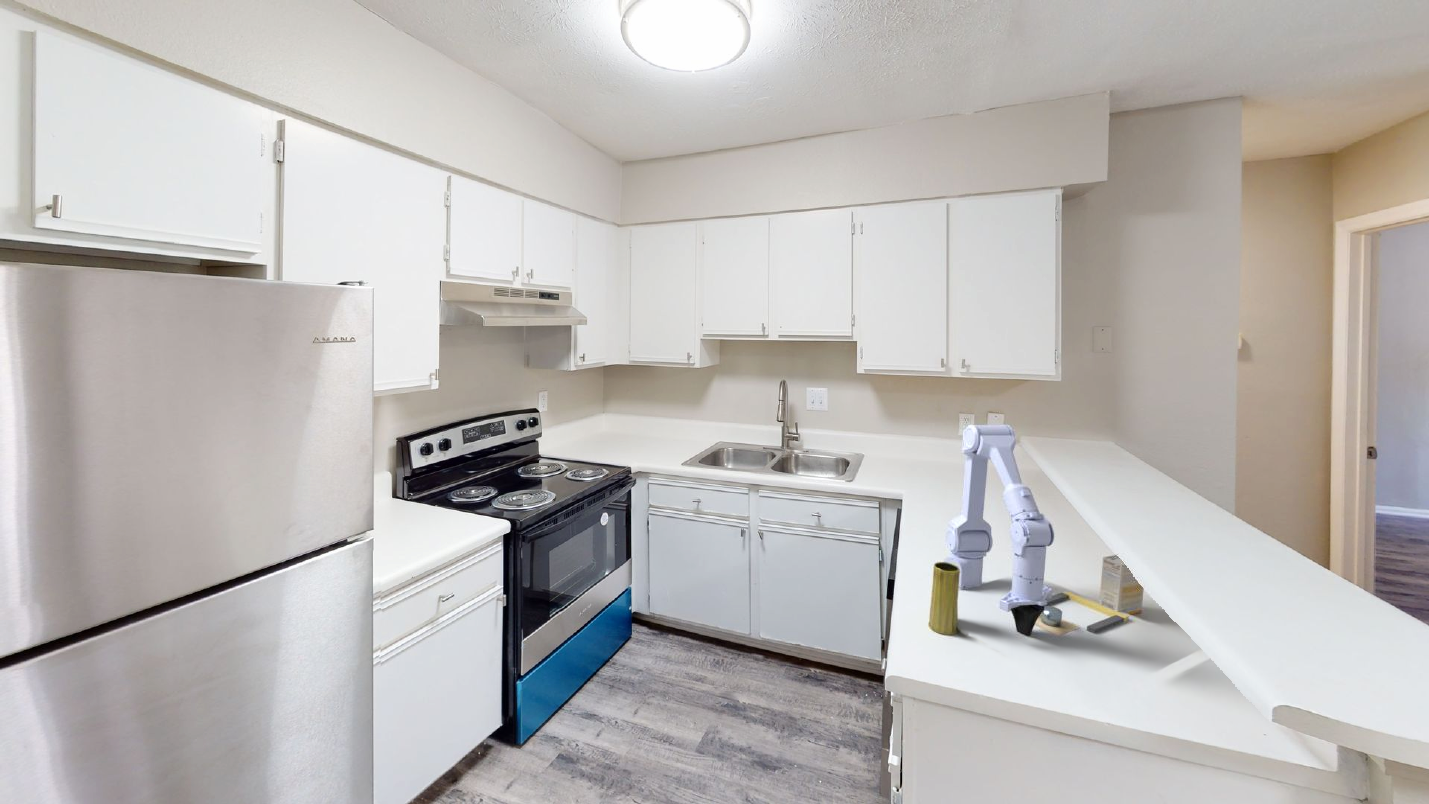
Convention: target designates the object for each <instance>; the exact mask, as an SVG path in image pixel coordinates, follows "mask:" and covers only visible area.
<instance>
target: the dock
mask: <svg viewBox="0 0 1429 804" xmlns="http://www.w3.org/2000/svg"><path fill="white" fill-rule="evenodd" d="M1045 600H1046V601H1047V604H1046V605H1044V606H1052V605H1055V604H1058V603H1060V602H1063V601H1067V600H1070V601H1072V602H1074V603H1077V604H1080V605H1082V606H1085V607H1086V608H1089V609H1092V610H1094V611H1096V612H1098V613H1101V614H1103V615H1106V616H1108V617H1107V618H1105V619H1101V620H1100V621H1097V622H1094V623H1091V624H1089V625H1086V631H1087V632H1089V633H1092V634H1098V633H1099V632H1102V631H1105V630H1108V629H1109V628H1113V627H1115V626H1117V625H1120V624H1122V623H1125V622H1127V621H1129V615H1126V614H1124V613H1122V612H1117V611H1114V610H1112V609H1110V608H1108V607H1106V606H1104V605H1102V604H1099V603H1097V602H1095V601H1093V600H1090V599H1087V598H1085V597H1083V596H1080V595H1078V594H1075V593H1073V592H1070V591H1067V590H1065V591H1062V592H1060V593H1057V594H1052V598H1045Z"/></svg>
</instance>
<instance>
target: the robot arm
mask: <svg viewBox="0 0 1429 804" xmlns="http://www.w3.org/2000/svg"><path fill="white" fill-rule="evenodd" d="M1016 443H1017V440H1016V435H1015V431H1014V430H1013V427H1012V426H1011V425H1009V424H982V425H981V424H968V425H967V426H966V427H965V428H964V429H963V433H962V442H961V453H962V454H964V455H965V461H964V473H963V485H962V486H963V487H962V498H961V509H960V510H961V512H960V514H959V515H958V516H956V517H954V518H953V519H951V520H950V521H949V523H948V527H947V531H946V534H945V544H946V546H947V548H948V550H949V551H950V552H951V554H950V555H948V556H946V558H945V559H943V562H948V563H952V564H954V565H956V566H958V567H959V569H960V574H959V590H958V592H959V591H963V590H966V589H971V588H979V587H981V586H982V585H983V584H982V583H983V582H982V581H983V568H984V566H983V565H984V557H987V553H990V551H991V550H992V547H993V536H992V526H991V525H990V524H989V522H988V521H986V520H985V519H984V509H985V501H986V500H985V499H986V487H987V486H986V484H987V474H988V473H987V472H988V466H989V465H988V463H989V460H991V462H992V464H993V465H994V468H995V470H996V472H997V474H998V476H999V478H1000V480H1001V483H1002V485H1003V486H1004V490H1003V493H1002V495H1001V496H1002V498H1003V502H1004V504H1005V507H1006V511H1007V513H1008V515H1009V518H1010V521H1011V526H1010V528H1009V535H1010V538H1011V539H1010V540H1011V548H1012V552H1014V555H1013V568H1012V579H1011V589H1010V590H1009V591H1008V593H1007V594H1006V595H1005V596H1003V598H1001V599H999V605H998V606H999V609H1000V610H1002V611H1005V612H1007V613H1009V612H1011V614H1012V616H1013V620H1014V624H1015V628H1016V632H1017V633H1019V634H1021V635H1023V636H1025V637H1028V636H1031V635H1032V633H1033V630H1034V627H1035V626H1036V625H1035V623H1036V621H1037V619H1038V617H1039V616H1040V614H1041V613H1042V612H1043V611H1044V605H1046V604H1047V601H1046V600H1045V598H1052V596H1053V589H1052V588H1050V587H1048V586H1046V585H1044V580H1045V570H1046V557H1047V547H1051V545H1053V543H1054V540H1055V532H1054V531H1055V530H1054V528H1053V524H1052V523H1051V521H1050V520H1049V519H1048V518H1046V517H1045V514H1043V513H1040V510H1039V507H1038V505H1037V502H1036V501H1035V498H1034V496H1033V492H1032V490H1031V488H1030V487H1028V486H1026V485H1024V484H1023V482H1022V479H1021V475H1020V472H1019V469H1018V464H1017V461H1016V457H1015V454H1014V450H1015V448H1016V447H1015V446H1016Z"/></svg>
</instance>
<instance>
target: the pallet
mask: <svg viewBox="0 0 1429 804" xmlns="http://www.w3.org/2000/svg"><path fill="white" fill-rule="evenodd" d="M1041 616H1042V613H1041V614H1040V616H1039V617H1038V619H1037V621H1036V623H1035V625H1034V626H1036V627H1038V628H1041V629H1043V630H1044V631H1047V632H1048V633H1051V634H1053V635H1055V636H1056V637H1059V636H1062V635H1065V634H1067V633H1069V632H1072V631H1075V630H1078V629H1080V628H1081V626H1079V625H1077V624H1075V623H1072V622H1070V621H1068V620H1067V619H1064V618H1062V621H1061V626H1060V627H1051V626H1047V625H1045V624H1043V623H1042V622H1041Z"/></svg>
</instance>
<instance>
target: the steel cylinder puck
mask: <svg viewBox="0 0 1429 804" xmlns="http://www.w3.org/2000/svg"><path fill="white" fill-rule="evenodd" d="M1062 619H1063V610H1061V609H1060V608H1058V607H1055V606H1052V605H1049V606H1044V611H1043V612H1042V616H1041V622H1042V623H1043V624H1045V625H1047V626H1051V627H1060V626H1061V621H1062Z"/></svg>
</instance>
